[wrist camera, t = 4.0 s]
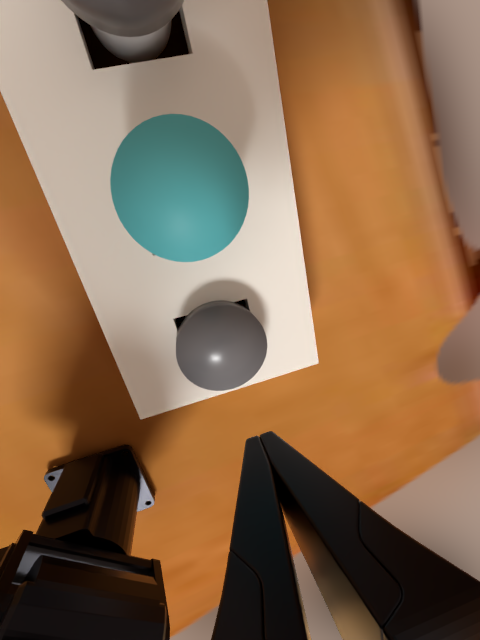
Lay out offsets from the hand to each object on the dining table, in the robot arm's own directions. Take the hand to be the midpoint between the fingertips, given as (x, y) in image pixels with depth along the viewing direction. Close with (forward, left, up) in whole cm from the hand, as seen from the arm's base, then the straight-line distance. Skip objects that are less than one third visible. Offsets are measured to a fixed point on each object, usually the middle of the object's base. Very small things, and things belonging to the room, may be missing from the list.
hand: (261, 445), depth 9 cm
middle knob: (+8, 0, -9) cm, 12 cm away
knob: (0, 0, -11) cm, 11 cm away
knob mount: (+8, 0, -13) cm, 15 cm away
